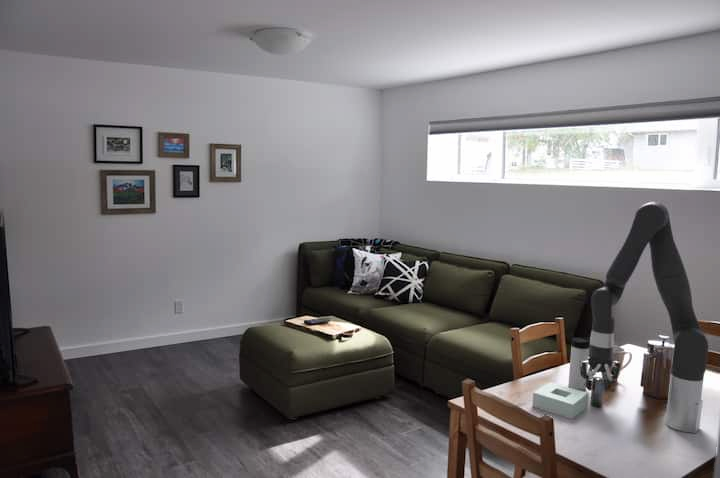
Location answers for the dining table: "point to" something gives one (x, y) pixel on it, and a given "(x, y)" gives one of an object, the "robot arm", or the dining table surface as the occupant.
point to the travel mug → (578, 362)
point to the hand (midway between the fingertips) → (597, 389)
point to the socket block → (560, 400)
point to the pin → (597, 392)
